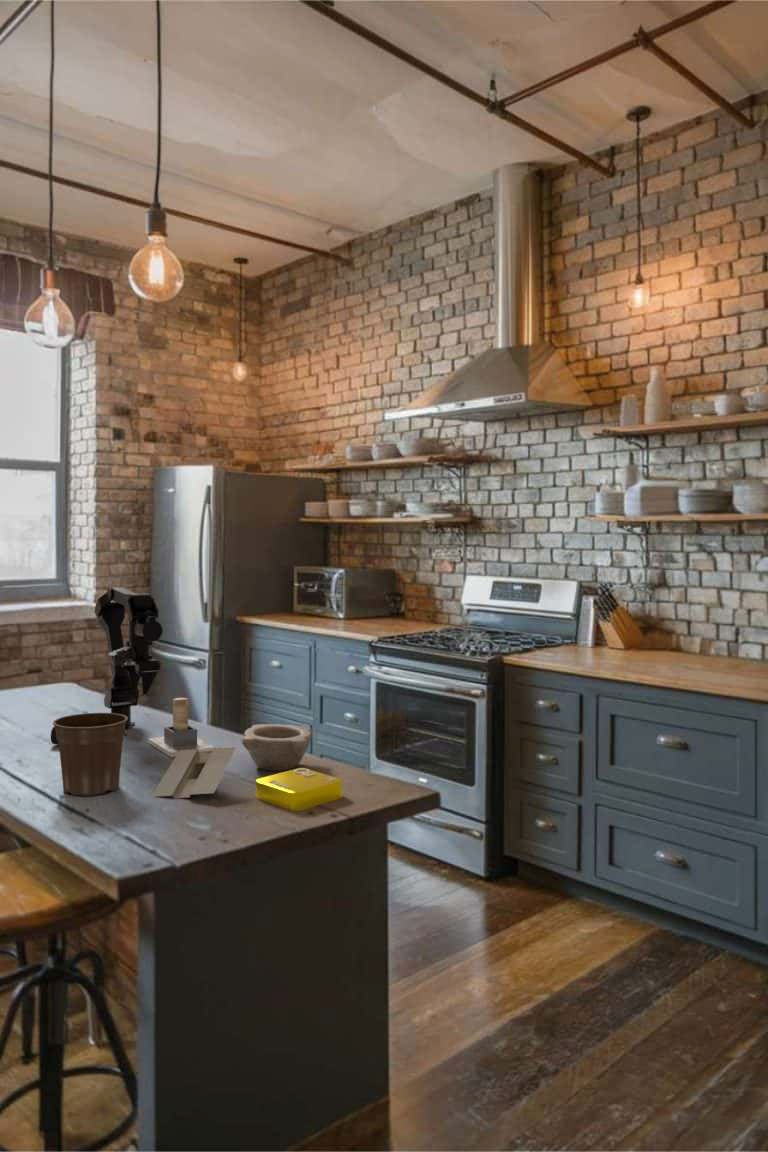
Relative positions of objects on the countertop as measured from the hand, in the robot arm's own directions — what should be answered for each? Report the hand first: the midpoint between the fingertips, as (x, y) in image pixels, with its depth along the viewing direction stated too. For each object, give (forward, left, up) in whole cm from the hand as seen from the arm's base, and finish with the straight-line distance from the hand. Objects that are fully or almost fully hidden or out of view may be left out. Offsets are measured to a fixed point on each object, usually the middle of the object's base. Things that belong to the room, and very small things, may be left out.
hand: (139, 691), depth 247 cm
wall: (+48, +30, -13) cm, 59 cm away
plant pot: (+49, +6, -13) cm, 51 cm away
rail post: (+10, +15, -12) cm, 21 cm away
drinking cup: (+12, -20, -10) cm, 25 cm away
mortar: (+26, +45, -13) cm, 54 cm away
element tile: (+50, +54, -14) cm, 75 cm away
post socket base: (+10, +15, -13) cm, 22 cm away
